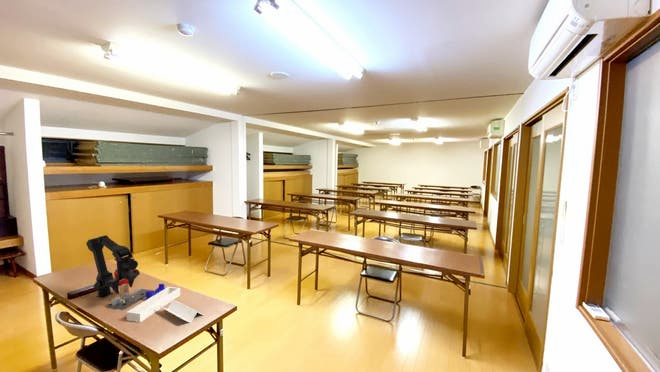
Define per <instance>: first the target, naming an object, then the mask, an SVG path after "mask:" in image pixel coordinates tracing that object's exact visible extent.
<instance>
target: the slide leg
mask: <svg viewBox="0 0 660 372" xmlns="http://www.w3.org/2000/svg"><path fill="white" fill-rule="evenodd" d="M119 290H120V291H119V293H120V294H119V297H121V298H127V297H128V296H132V299H134V298H133V294H130V293H131V292H130V291H129V290H130V289H129V284H123V285H121V284H120V285H119Z"/></svg>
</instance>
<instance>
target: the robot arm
mask: <svg viewBox="0 0 660 372" xmlns="http://www.w3.org/2000/svg"><path fill="white" fill-rule="evenodd" d="M85 244H86V246H87V249H88V250H89V251H90V252H91V253H92V254H93V258H94V259H93V260H94V263H95V267H96V270H97V276H96V278H95V279H96V281H95V283H94V284H93V289H94V290H97V295H96V296H95V297H96V298H99V299H100V298H101V299H104V298H106V297H107V298H108V297H109V296H110V295H112V294H113V292H112V290H113V291H114V293H116V295H120V294H119V293H120V291H119V290H120V286H121V284H119V281H121V280H123V279H127V280H128V282H129V284H128V287H130V288H132V287H133V284H134V282H135V279H136V278H137V277H139V276H140V275H141V274H140V270H139V269H137V267H138V266H139V263H138V261H137V260H135V258H134V256H133V253H132V252H131V250H130V248H128V247H127V246H125V245H120V244H118V243H116V241H114V240H112V239H111V238H110V237H109V236H108V235H107V234H106V235H101V236H100V235H99V236H97V237H94V238H90V239H88V240H87V241H86V243H85ZM104 247H106V249H108V251H109V250H110V251H111V254H112V257H114V259H113V260H114V261H116V269H115V270H114V272H115V271H116V272H117V275H118V276H116V278H118V279H115V276H114V274H113V272H111V271H109V270H108V267H107V263H106V260H105V255H104V251H103V249H104ZM134 269H136V270H134ZM111 289H112V290H111Z"/></svg>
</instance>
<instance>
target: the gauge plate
mask: <svg viewBox="0 0 660 372" xmlns="http://www.w3.org/2000/svg"><path fill="white" fill-rule="evenodd" d="M146 291H151V292H152V293H153V292H154V291H155V290H153V289H147V288H146V289H145V288H142V287H139V288H137V289H135V290H134V291H132V292H129V293H130V294H133V298H134V299H132V296H128V297H127V298H121V297H120V296H114V297H112V298H111V299H110V303H109V304H108V305H107V308H108V309H114V310H122V311H125V310H127V309H128V308H130V307H131V306H133V305H135V304H136V303H138V302H141V301H142V300H143V299H146Z"/></svg>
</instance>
